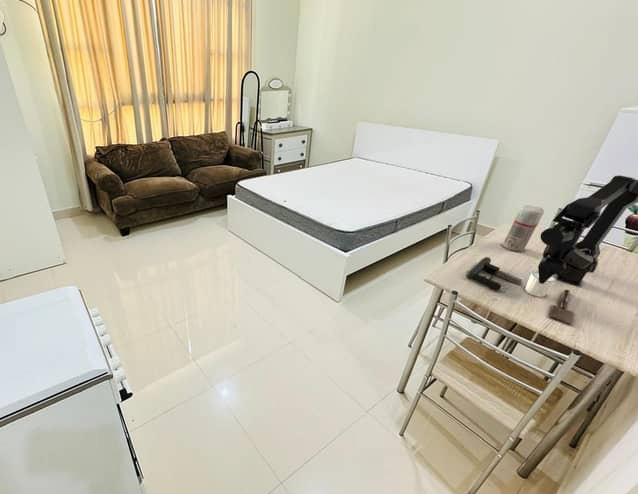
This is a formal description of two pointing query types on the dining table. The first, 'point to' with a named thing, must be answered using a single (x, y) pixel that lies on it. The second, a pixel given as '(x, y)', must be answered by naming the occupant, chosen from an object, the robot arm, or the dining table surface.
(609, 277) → the dining table surface
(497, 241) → the dining table surface
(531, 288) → the white cup
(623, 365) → the dining table surface
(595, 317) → the dining table surface
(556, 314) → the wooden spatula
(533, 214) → the spray can
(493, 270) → the door handle
